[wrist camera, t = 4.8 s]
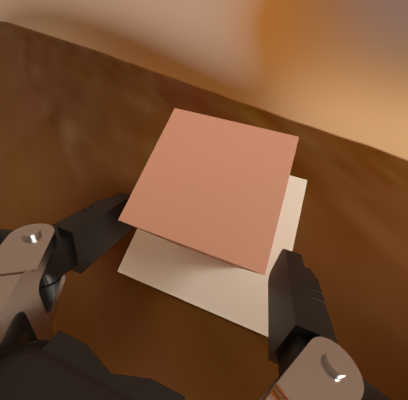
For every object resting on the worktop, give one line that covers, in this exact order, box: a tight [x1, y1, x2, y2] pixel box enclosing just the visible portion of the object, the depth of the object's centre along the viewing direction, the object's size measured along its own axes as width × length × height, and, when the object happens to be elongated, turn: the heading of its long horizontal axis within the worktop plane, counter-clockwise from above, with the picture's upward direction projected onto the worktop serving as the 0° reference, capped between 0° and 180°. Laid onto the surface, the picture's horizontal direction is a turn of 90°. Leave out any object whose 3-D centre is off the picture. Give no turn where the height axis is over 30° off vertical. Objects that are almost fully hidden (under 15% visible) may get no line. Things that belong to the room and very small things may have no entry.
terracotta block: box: [118, 108, 299, 275], centre depth 13 cm, size 6×6×10 cm
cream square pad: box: [117, 176, 307, 337], centre depth 17 cm, size 14×14×1 cm
